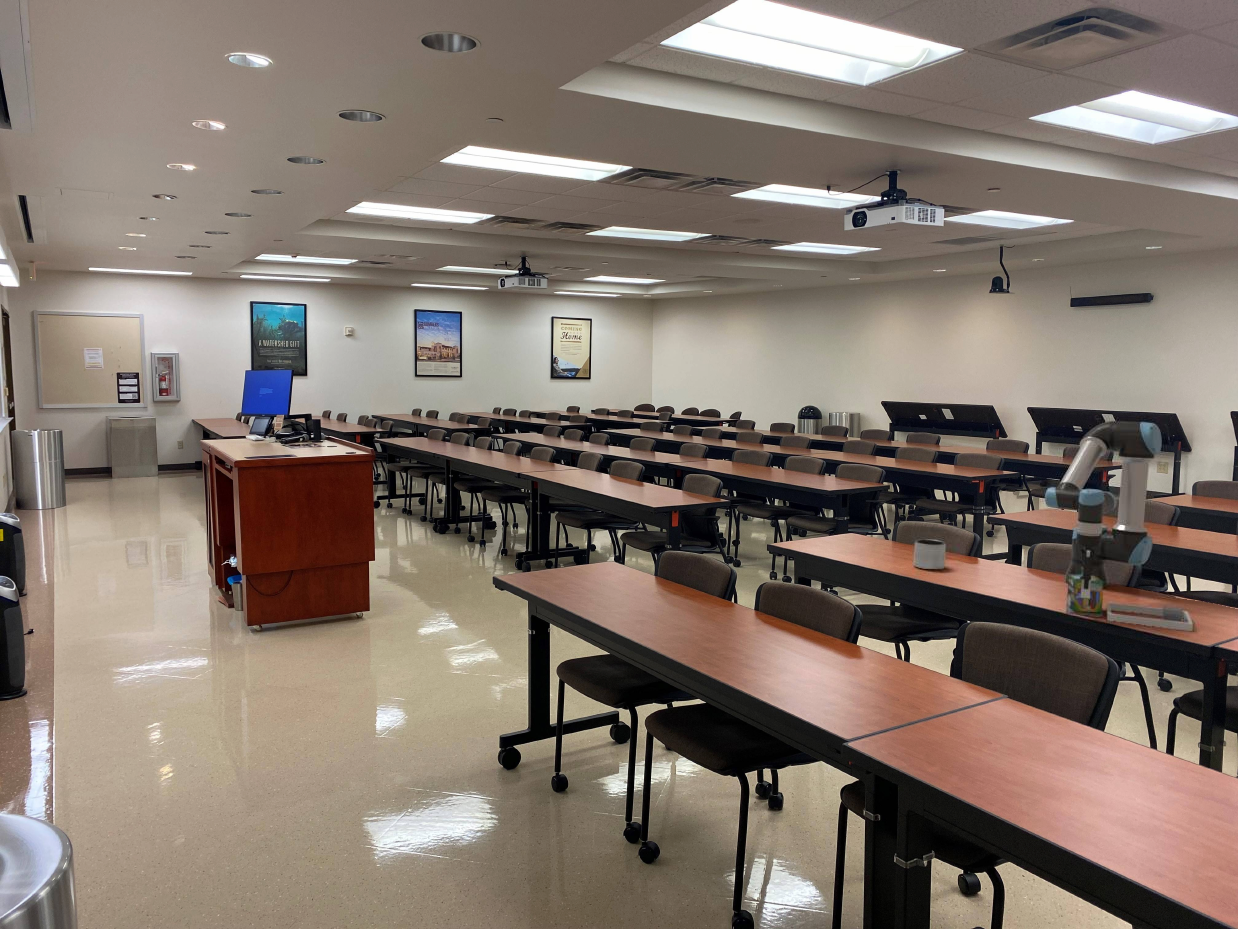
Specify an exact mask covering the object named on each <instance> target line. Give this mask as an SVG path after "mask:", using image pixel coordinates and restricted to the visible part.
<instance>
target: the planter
mask: <svg viewBox="0 0 1238 929" xmlns="http://www.w3.org/2000/svg"><path fill="white" fill-rule="evenodd" d="M913 551H914V554H913V566H914V567H916V568H917V567H918V568H917V569H919V568H922V569H921V570H924V569H941V570H943V569H944V568H945V566H946V565H945V564H946V541H942V540H940V539H939V540H938V539H933V538H932V539H931V538H920V539H919V538H918V539H916V540H914V550H913Z"/></svg>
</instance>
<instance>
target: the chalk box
mask: <svg viewBox="0 0 1238 929" xmlns="http://www.w3.org/2000/svg"><path fill="white" fill-rule="evenodd" d="M1081 570H1082V574H1083V568H1082V567H1081ZM1082 576H1083V575H1072V574H1069V575H1068V583H1067V598H1066V605H1068V606H1069V607H1070V608H1071V609H1072V610H1073V611H1074V612H1096V613H1102V614H1103V597H1104V596H1103V595H1104V588H1103V581H1102V580H1101V579H1100V578H1098V577H1096V576H1093V575H1091V587H1090V599H1089V598H1081V586H1082V579H1080V577H1082ZM1086 576H1087V575H1086Z"/></svg>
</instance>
